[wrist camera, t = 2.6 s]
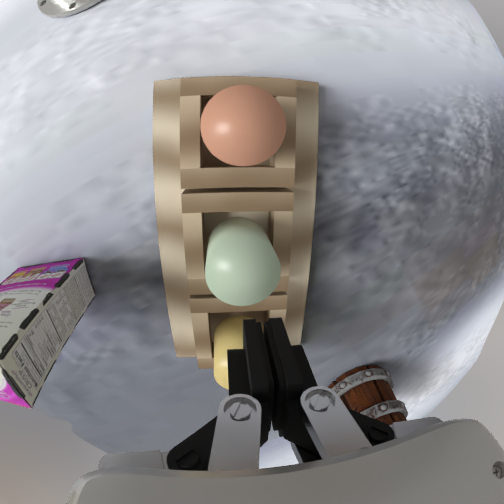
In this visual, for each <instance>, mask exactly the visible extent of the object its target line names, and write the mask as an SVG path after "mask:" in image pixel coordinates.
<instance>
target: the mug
mask: <svg viewBox="0 0 504 504" xmlns="http://www.w3.org/2000/svg"><path fill="white" fill-rule="evenodd" d="M336 381H337V382H332V383H331V384H330V385H329V387H328V388H330V389H332V390H333V391H335V392H336V393H337V395H338V396H339V397H340V399H341V400H342V402H343V403H344V405H345V406H346V408H349V409H351V410H353V411H356V412H358V413H361V414H363V415H366V416H369V417H371V418H374V419H376V420H379V421H382V422H384V423H386V424H388V425H392V424H393V422H401V421H407V420H406V417H407V415H408V412H407V409H406V407H405V405H404V403H403V402H401V401H399V400H397V399H396V397H395V395H394V393H393V391H392V388H393V382H392V379H391V377H390V373H389V372H388V371H385V370H383V369H382V368H380V367H378V366H373V365H368V367H366V366H361V367H357V368H354V369H352V370H350V371H348V372H346V373H344V374H343V375H341V376H340V377H338V378H337V379H336Z"/></svg>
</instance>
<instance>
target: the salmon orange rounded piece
mask: <svg viewBox="0 0 504 504" xmlns="http://www.w3.org/2000/svg"><path fill="white" fill-rule="evenodd" d="M200 129H201V135H202V138H203V141H204V143H205V145H206V147H207V148H208V149H209V151H210V152H211V153H212V154H213V155H214V156H215V157H217V158H218V159H220V160H221V161H223V162H225V163H228V164H231V165H235V166H252V165H256V164H259V163H261V162H264V161H265V160H267V159H269V158H270V157H271V156H272V155H274V154H275V153H276V151H277V150H278V149H279V148H280V146H281V144H282V142H283V140H284V137H285V133H286V118H285V114H284V111H283V109H282V107H281V105H280V104H279V102H278V101H277V100H276V99H275V97H273V96H272V95H271V94H270V93H268V92H267V91H265V90H263V89H261V88H259V87H256V86H251V85H236V86H231V87H228V88H226V89H223V90H221V91H220V92H218V93H217V94H216V95H214V96H213V97H212V98H211V99H210V100H209V102H208V103H207V105H206V106H205V108H204V110H203V113H202V116H201V123H200Z"/></svg>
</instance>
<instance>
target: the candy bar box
mask: <svg viewBox="0 0 504 504" xmlns="http://www.w3.org/2000/svg"><path fill="white" fill-rule="evenodd" d="M94 298H95V292H94V289H93V286H92V284H91V281H90V278H89V275H88V271H87V268H86V265H85V261H84V258H78V259H72V260H66V261H59V262H53V263H47V264H40V265H34V266H28V267H22V268H18V269H17V270H16V271H14V272H13V273H12V274H11V275H10V276H9V277H7V278H6V279H5V280H4V281H3V282H2V283H1V284H0V400H2V401H5V402H9V403H12V404H15V405H19V406H23V407H26V408H30V409H32V408H33V405H34V403H35V401H36V399H37V397H38V395H39V392H40V390H41V388H42V386H43V384H44V382H45V380H46V378H47V376H48V374H49V373H50V371H51V369H52V367H53V365H54V363H55V362H56V360H57V358H58V356H59V354H60V353H61V351H62V348H63V347H64V345H65V344H66V342H67V340H68V338H69V337H70V336H71V334H72V332H73V330H74V328H75V327H76V325H77V324H78V322H79V321H80V319H81V317H82V316H83V314H84V313H85V311H86V310H87V308H88V307H89V305H90V304H91V302H92V300H93V299H94Z"/></svg>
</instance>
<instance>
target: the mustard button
mask: <svg viewBox="0 0 504 504" xmlns="http://www.w3.org/2000/svg"><path fill="white" fill-rule="evenodd" d="M243 319H254V318H252V317H249V316H240V315H239V316H232V317H229V318H227V319H225V320H223V321H222V322H221V323H220V324H219V325H218V326H217V327H216V329H215V332H214V377H215V379H216V381H217V382H218V384H220V385H221V386H222V387H224V388H226V389H228V390H229V384H228V362H227V349H243ZM256 322H258V321H257V320H256ZM261 326H262V325H261ZM262 330H263V332H264V328H263V326H262Z"/></svg>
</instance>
